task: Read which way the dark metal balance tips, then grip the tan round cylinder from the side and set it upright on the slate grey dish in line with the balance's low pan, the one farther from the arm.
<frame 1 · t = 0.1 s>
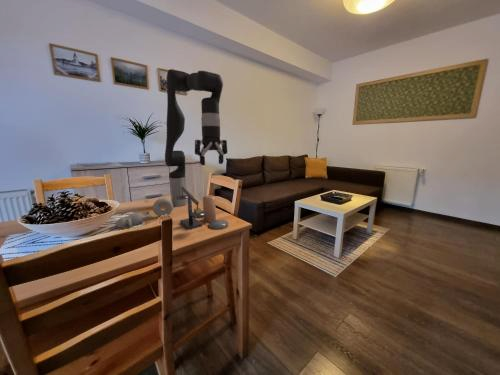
hand: (212, 164, 89), 29 cm above the table, tool pointing down, fingers open, 8 cm apart
bunny figurine: (135, 224, 100), on the table
balance: (191, 224, 99), on the table
donut: (164, 216, 109), on the table
dish high side: (202, 214, 112), on the table
dish low side: (218, 225, 98), on the table
tan round cylinder: (209, 219, 105), on the table
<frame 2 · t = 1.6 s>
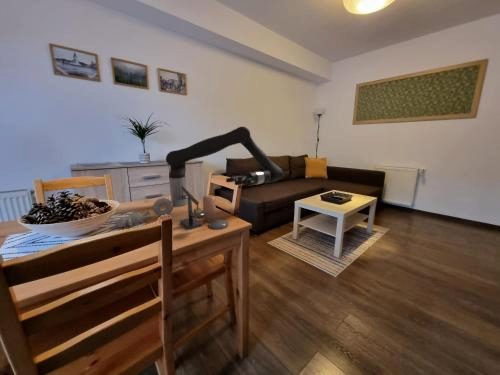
hand: (230, 181, 109), 18 cm above the table, tool horizontal, fingers open, 8 cm apart
nothing on the table moved.
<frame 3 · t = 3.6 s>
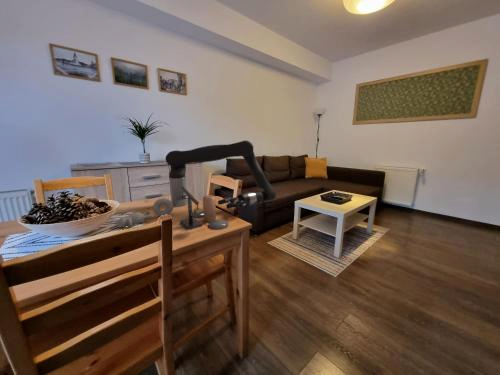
hand: (222, 204, 108), 7 cm above the table, tool horizontal, fingers open, 8 cm apart
nothing on the table moved.
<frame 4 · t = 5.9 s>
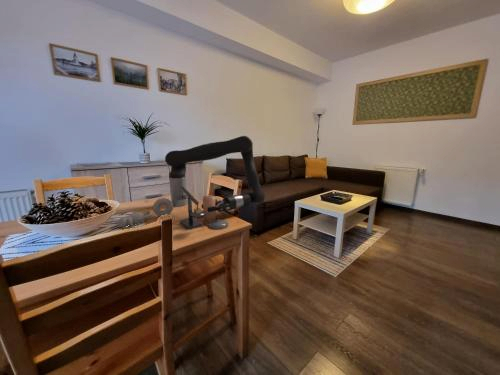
hand: (204, 208, 102), 7 cm above the table, tool horizontal, fingers closed on tan round cylinder, 6 cm apart
tan round cylinder: (209, 219, 105), on the table, touching gripper
everything else where it was.
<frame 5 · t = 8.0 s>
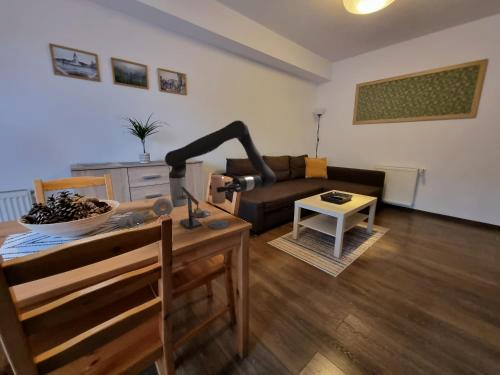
hand: (213, 188, 93), 18 cm above the table, tool horizontal, fingers closed on tan round cylinder, 6 cm apart
tan round cylinder: (218, 201, 96), point 11 cm above the table, touching gripper
when the fingers open (9 cm above the table, at t = 10.3 s): tan round cylinder drops 1 cm, resting on dish low side.
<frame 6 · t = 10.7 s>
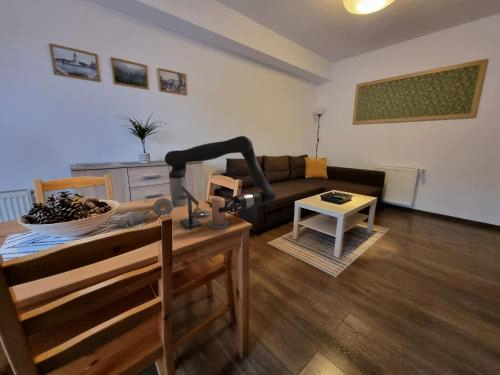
hand: (214, 208, 95), 9 cm above the table, tool horizontal, fingers open, 8 cm apart
tan round cylinder: (218, 223, 98), point 1 cm above the table, touching dish low side
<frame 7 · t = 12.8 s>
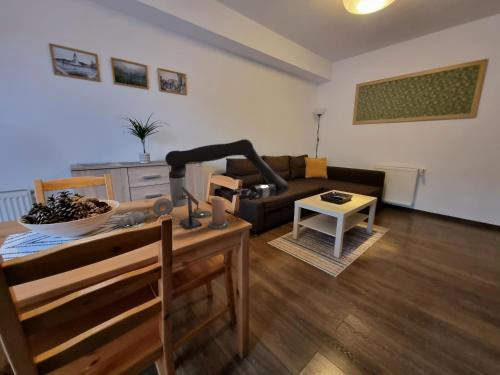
hand: (234, 195, 103), 13 cm above the table, tool horizontal, fingers open, 8 cm apart
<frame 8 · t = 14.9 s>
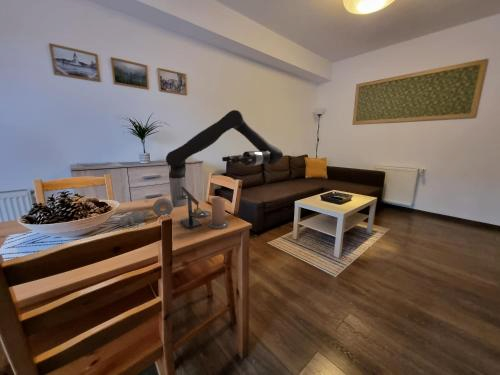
hand: (227, 159, 102), 30 cm above the table, tool horizontal, fingers open, 8 cm apart
at the end: tan round cylinder 0.1 cm off-centre on the dish low side, point 1.0 cm above the dish low side's base; tan round cylinder tilted 0°; the gripper is holding nothing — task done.
